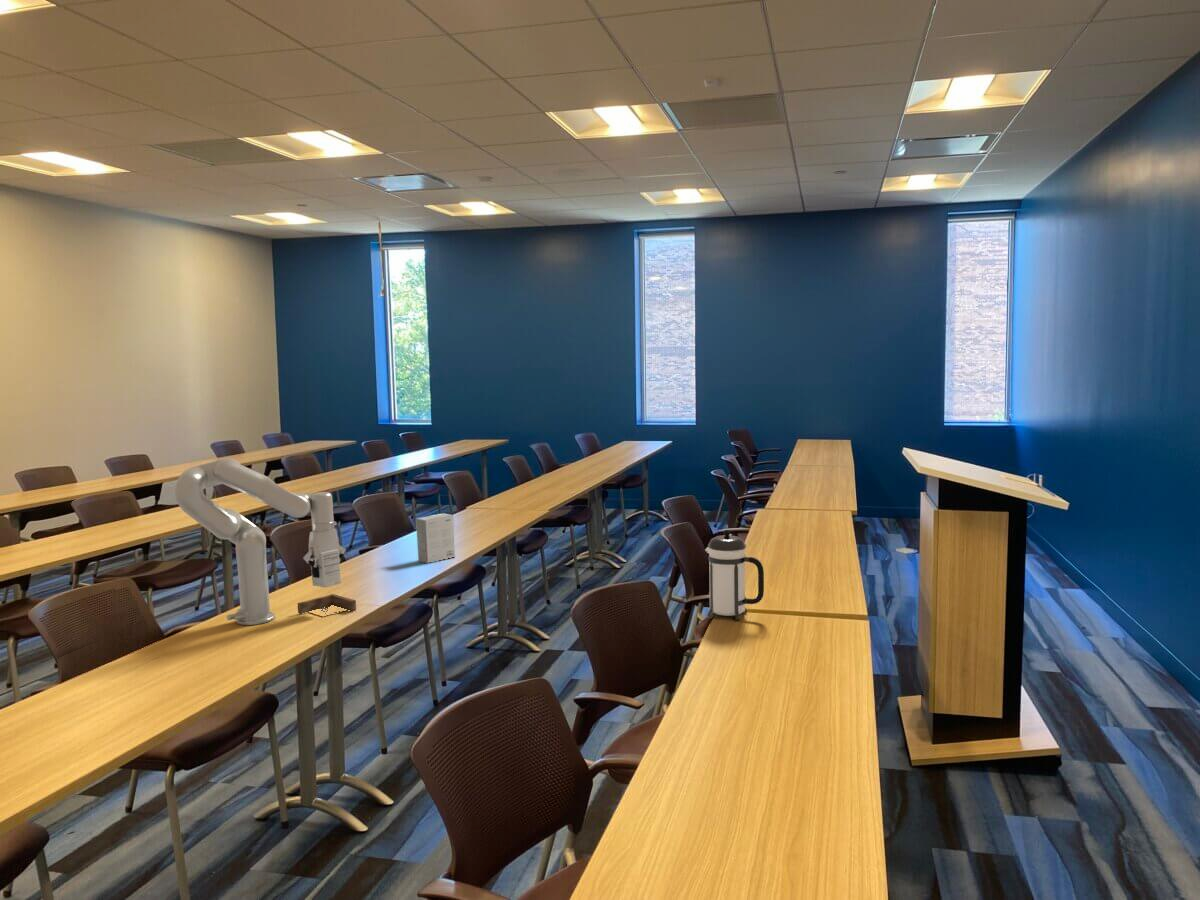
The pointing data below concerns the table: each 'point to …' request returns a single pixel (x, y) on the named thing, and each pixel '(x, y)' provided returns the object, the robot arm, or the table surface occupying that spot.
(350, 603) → the arena
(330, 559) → the supplement box
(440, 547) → the hard drive box
